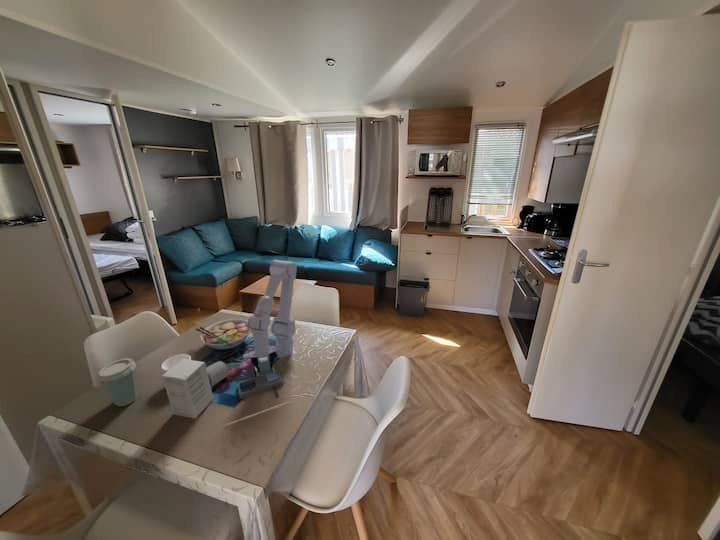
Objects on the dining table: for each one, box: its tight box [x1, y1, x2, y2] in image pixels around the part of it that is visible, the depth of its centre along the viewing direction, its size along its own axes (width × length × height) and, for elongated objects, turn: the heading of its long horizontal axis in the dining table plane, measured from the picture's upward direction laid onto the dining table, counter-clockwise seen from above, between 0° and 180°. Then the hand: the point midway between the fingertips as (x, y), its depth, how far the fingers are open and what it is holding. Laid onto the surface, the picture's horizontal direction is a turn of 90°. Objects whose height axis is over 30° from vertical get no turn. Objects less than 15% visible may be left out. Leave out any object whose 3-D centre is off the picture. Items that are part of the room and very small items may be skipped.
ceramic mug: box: [206, 360, 230, 388], centre depth 111 cm, size 11×8×8 cm
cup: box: [160, 353, 192, 374], centre depth 109 cm, size 10×10×9 cm
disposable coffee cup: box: [96, 357, 139, 407], centre depth 99 cm, size 11×11×15 cm
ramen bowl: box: [195, 318, 252, 350], centre depth 134 cm, size 25×23×8 cm
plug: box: [257, 355, 271, 375], centre depth 115 cm, size 4×4×6 cm
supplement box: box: [161, 359, 214, 419], centre depth 96 cm, size 10×9×17 cm
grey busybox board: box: [237, 369, 284, 400], centre depth 106 cm, size 12×16×3 cm
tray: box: [254, 366, 276, 377], centre depth 116 cm, size 7×7×2 cm
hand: (264, 369), depth 115 cm, fingers open, 4 cm apart
